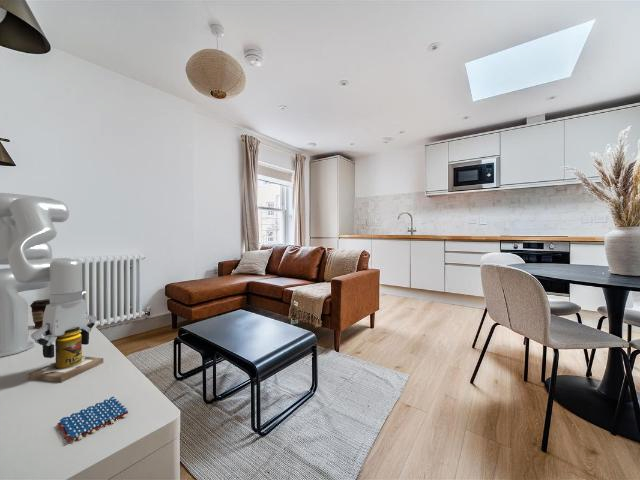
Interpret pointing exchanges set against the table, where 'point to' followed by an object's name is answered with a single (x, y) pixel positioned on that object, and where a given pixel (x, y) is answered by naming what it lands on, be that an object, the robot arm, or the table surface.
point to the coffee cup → (39, 311)
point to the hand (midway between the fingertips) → (67, 350)
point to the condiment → (67, 351)
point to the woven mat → (91, 419)
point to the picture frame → (67, 373)
